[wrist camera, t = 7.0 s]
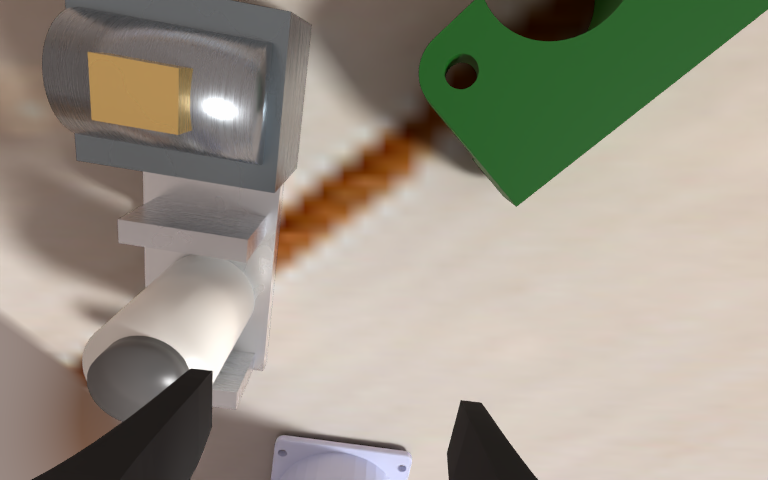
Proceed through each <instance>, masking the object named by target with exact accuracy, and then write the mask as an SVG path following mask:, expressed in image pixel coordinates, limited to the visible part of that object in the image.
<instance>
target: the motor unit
mask: <svg viewBox="0 0 768 480" xmlns="http://www.w3.org/2000/svg"><path fill="white" fill-rule="evenodd" d="M65 7H66V10H64V11H63V12H61V13H60V14H59V15H58V16H57V17H56V18H55V20H54V21H53V23H52V24H51V26H50V28H49V30H48V33H47V36H46V39H45V43H44V48H43V56H42V73H43V81H44V87H45V91H46V95H47V98H48V101H49V103H50V105H51V108H52V110H53V111H54V113H55V115H56V117H57V118H58V119H59V121H60V122H61V123H62V124H63V125H64V126H65V127H66V128H67V129H69V130H70V131H72V132H74V133H75V145H76V158H77V161H83V162H89V163H95V164H101V165H107V166H113V167H119V168H125V169H131V170H137V171H143V204H144V205H142V206H140V207H138V208H137V209H135V210H133V211H131V212H129V213H128V214H126V215H124V216H122V217H121V218H119V219H118V243H121V244H128V245H134V246H141V247H144V256H145V288H146V287H147V286H149V285H150V284H151V283H152V282H153V281H154V280H155V279H156V278H158V277H159V276H160V275H161V274H162V273H163V272H164V271H165V270H167V269H168V268H169V267H170V266H171V265H172V264H174V263H175V262H176V261H178V260H179V259H181V258H183V257H186V256H189V255H199V256H205V257H212V258H218V259H224V260H228V261H230V262H231V263H233V264H234V265H236V266H237V267H238V268H239V269H240V270H241V271H242V272H243V273H244V274H245V276H246V277H247V278H248V280H249V282H250V284H251V286H252V289H253V292H254V309H253V312H252V315H251V317H250V318H249V320H248V322H247V324H246V326H245V327H244V329H243V331H242V333H241V335H240V336H239V338H238V340H237V342H236V343H235V345H234V347H233V349H232V351H231V352H230V354H229V356H228V358H227V360H226V361H225V363H224V365H223V367H222V368H221V370H220V372H219V374H218V376H217V377H216V379H215V381H214V383H213V385H212V407H218V408H226V409H233V410H236V408H237V406H238V404H239V402H240V399H241V397H242V395H243V392H244V390H245V388H246V385H247V383H248V381H249V378H250V376H251V374H252V371H253V370H260V371H263V370H264V367H265V365H266V362H267V354H268V344H269V333H270V323H271V312H272V302H273V292H274V281H275V271H276V261H277V250H278V240H279V229H280V219H281V209H282V198H283V188H284V182H285V181H286V180H287V179H288V177H289V176H290V175H291V174H292V173H293V172H294V171H295V169H296V168H297V159H298V149H299V140H300V130H301V121H302V111H303V102H304V92H305V83H306V73H307V64H308V54H309V45H310V35H311V26H312V25H311V24H309V23H308V22H306V21H305V20H303V19H301V18H300V17H298V16H297V15H295V14H293V13H292V12H289V11H284V10H278V9H273V8H268V7H263V6H258V5H253V4H247V3H242V2H237V1H232V0H65Z"/></svg>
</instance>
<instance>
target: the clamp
mask: <svg viewBox="0 0 768 480" xmlns="http://www.w3.org/2000/svg"><path fill="white" fill-rule="evenodd" d="M766 10H768V0H595V4H594V13H593V17H592V20H591V23H590V26H589V28H588V30H587V32H586V33H584V34H582V35H579V36H577V37H574V38H570V39H566V40H560V41H538V40H532V39H529V38H525V37H523V36H520V35H518V34H516V33H514V32H512V31H511V30H509V29H508V28H506V27H505V26H504V25H503V24H502V23H501V22H499V21H498V20H497V18H496V17H495V16H494V15H493V14H492V12H491V11H490V9H489V8H488V6H487V4H486V2H485V0H474V1H473V2H472V3H471V4H470V5H469V6H468V7H467V8H466V9H465V10H464V11H462V12H461V13H460V14H459V15H458V16H457V17H456V18H455V19H454V20H453V21H452V22H451V23H450V24H449V25H448V26H447V27H446V28H444V29H443V30H442V31H441V32H440V33H439V34H438V35H437V36H436V37H435V38H434V39H433V40H432V41H431V42H430V43H429V45H428V46H427V48H426V49H425V51H424V53H423V55H422V58H421V61H420V66H419V81H420V86H421V89H422V91H423V93H424V96H425V98H426V99H427V101H428V103H429V104H430V106H431V107H432V108H433V109H434V110H435V112H436V113H437V114H438V115H439V116H440V118H441V119H442V120H443V121H444V122H445V124H446V125H447V126H448V127H449V128H450V130H451V131H452V132H453V133H454V134H455V136H456V137H457V138H458V139H459V140H460V142H461V143H462V144H463V145H464V146H465V148H466V149H467V150H468V151H469V152H470V154H471V155H472V156H473V157H474V158H473V160H474V162H475V163H476V164H477V165H478V166H479V168H480V169H481V170H482V171H483V172H484V174H485V175H486V176H487V177H488V178H489V180H490V181H491V182H492V183H493V184H494V186H495V187H496V188H497V189H498V190H499V192H500V193H501V194H502V195H503V196H504V197H505V198H506V199H507V200H509V201H510V202H511V203H512V204H514V205H515V206H516V207H517V206H518V205H519V204H520V203H522V202H523V201H524V200H526V199H527V198H528V197H529V196H531V195H532V194H533V193H534V192H536V191H537V190H538V189H540V188H541V187H542V186H543V185H545V184H546V183H547V182H548V181H550V180H551V179H552V178H554V177H555V176H556V175H557V174H559V173H560V172H561V171H562V170H564V169H565V168H566V167H568V166H569V165H570V164H571V163H573V162H574V161H575V160H576V159H578V158H579V157H580V156H582V155H583V154H584V153H585V152H587V151H588V150H589V149H591V148H592V147H593V146H594V145H596V144H597V143H598V142H599V141H601V140H602V139H603V138H605V137H606V136H607V135H608V134H610V133H611V132H612V131H613V130H615V129H616V128H617V127H619V126H620V125H621V124H622V123H624V122H625V121H626V120H627V119H629V118H630V117H631V116H633V115H634V114H635V113H636V112H638V111H639V110H640V109H641V108H643V107H644V106H645V105H647V104H648V103H649V102H650V101H652V100H653V99H654V98H655V97H657V96H658V95H659V94H661V93H662V92H663V91H664V90H666V89H667V88H668V87H669V86H671V85H672V84H673V83H675V82H676V81H677V80H678V79H680V78H681V77H682V76H683V75H685V74H686V73H687V72H689V71H690V70H691V69H692V68H694V67H695V66H696V65H698V64H699V63H700V62H701V61H703V60H704V59H705V58H706V57H708V56H709V55H710V54H712V53H713V52H714V51H715V50H717V49H718V48H719V47H720V46H722V45H723V44H724V43H726V42H727V41H728V40H729V39H731V38H732V37H733V36H734V35H736V34H737V33H738V32H740V31H741V30H742V29H743V28H745V27H746V26H747V25H748V24H750V23H751V22H752V21H754V20H755V19H756V18H757V17H759V16H760V15H761V14H762V13H764V12H765V11H766ZM457 63H467V64H469V65H471V66H472V67H473V68H474V69H475V71H476V74H477V80H476V81H475V83H474V84H473V85H471V86H470V87H468V88H466V89H455V88H453V87H451V86H450V85H449V84H448V83H447V81H446V79H445V77H446V74H447V72H448V70H449V69H450V68H451V67H452V66H453V65H455V64H457Z"/></svg>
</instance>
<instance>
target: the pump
mask: <svg viewBox="0 0 768 480" xmlns="http://www.w3.org/2000/svg"><path fill="white" fill-rule="evenodd" d="M253 309H254V292H253V289H252V286H251V284H250V282H249V280H248V278H247V277H246V276H245V274H244V273H243V272H242V271H241V270H240V269H239V268H238V267H237V266H236V265H234V264H233V263H231V262H230V261H228V260H224V259H218V258H212V257H205V256H199V255H189V256H186V257H183V258H181V259H179V260H178V261H176V262H175V263H174V264H172V265H171V266H170V267H169V268H168V269H167V270H165V271H164V272H163V273H162V274H161V275H160V276H159V277H158V278H156V279H155V280H154V281H153V282H152V283H151V284H150V285H149V286H147V287H146V288H145V289H144V290H143V291H142V292H141V293H139V294H138V295H137V296H136V297H135V298H134V299H133V300H132V301H130V302H129V303H128V304H127V305H126V306H125V307H124V308H123V309H121V310H120V311H119V312H118V313H117V314H116V315H115V316H113V317H112V318H111V319H110V320H109V321H108V322H107V323H106V324H104V325H103V326H102V327H101V328H100V329H99V330H98V331H97V332H95V333H94V334H93V336H92V337H91V338H90V339H89V341H88V342H87V344H86V346H85V349H84V352H83V360H82V365H83V371H84V375H85V378H86V380H87V386H88V389H89V392H90V394H91V396H92V398H93V400H94V401H95V402H96V404H97V405H98V406H99V407H100V408H101V409H102V410H103V411H105V412H106V413H107V414H109V415H110V416H112V417H114V418H116V419H118V420H120V421H122V422H123V421H125V420H126V419H127V418H129V417H130V416H131V415H133V414H134V413H135V412H137V411H138V410H139V409H140V408H142V407H143V406H144V405H146V404H147V403H148V402H149V401H151V400H152V399H153V398H154V397H156V396H157V395H158V394H159V393H161V392H162V391H163V390H164V389H166V388H167V387H168V386H169V385H170V384H172V383H173V382H174V381H175V380H177V379H178V378H179V377H180V376H181V375H183V374H184V373H185V372H186V371H188V370H189V369H191V368H193V369H202V370H210V371H213V379H212V385H213V383H214V381H215V379H216V377H217V376H218V374H219V372H220V370H221V368H222V367H223V365H224V363H225V361H226V360H227V358H228V356H229V354H230V352H231V351H232V349H233V347H234V345H235V343H236V342H237V340H238V338H239V336H240V335H241V333H242V331H243V329H244V327H245V326H246V324H247V322H248V320H249V318H250V317H251V315H252V312H253Z"/></svg>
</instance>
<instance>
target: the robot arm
mask: <svg viewBox="0 0 768 480" xmlns="http://www.w3.org/2000/svg"><path fill="white" fill-rule="evenodd" d="M212 379H213V371H210V370H202V369H193V368H191V369H189V370H188V371H186V372H185V373H184V374H183V375H181V376H180V377H179V378H178V379H177V380H175V381H174V382H173V383H172V384H170V385H169V386H168V387H167V388H166V389H164V390H163V391H162V392H161V393H159V394H158V395H157V396H156V397H154V398H153V399H152V400H151V401H149V402H148V403H147V404H146V405H144V406H143V407H142V408H140V409H139V410H138V411H137V412H135V413H134V414H133V415H131V416H130V417H129V418H127V419H126V420H125V421H123V422H122V423H121V424H119V425H118V426H116V427H115V428H114V429H112V430H111V431H110V432H108V433H107V434H105V435H104V436H102V437H101V438H99V439H98V440H97V441H95V442H94V443H92V444H91V445H89V446H88V447H86V448H85V449H83V450H82V451H80V452H78V453H77V454H75V455H74V456H72V457H70V458H69V459H67V460H66V461H64V462H62V463H61V464H59V465H57V466H56V467H54V468H52V469H50V470H49V471H47V472H45V473H43V474H41V475H39V476H38V477H36V478H34V479H32V480H190V478H191V476H192V474H193V472H194V470H195V468H196V466H197V464H198V462H199V460H200V457H201V455H202V452H203V450H204V447H205V444H206V442H207V439H208V436H209V433H210V431H211V428H212ZM281 450H285V451H281ZM447 460H448V474H449V480H538V479H537V478H536V477H535V476H534V474H533V473H532V472H531V471H530V469H529V468H528V467H527V465H526V464H525V463H524V461H523V460H522V459H521V458H520V456H519V455H518V454H517V452H516V451H515V450H514V448H513V447H512V445H511V444H510V443H509V441H508V440H507V439H506V437H505V436H504V434H503V433H502V432H501V430H500V429H499V427H498V426H497V424H496V423H495V421H494V420H493V419H492V417H491V416H490V414H489V413H488V411H487V410H486V409H485V407H484V406H483V404H482V403H479V402H471V401H462V400H461V402H460V406H459V410H458V413H457V417H456V421H455V425H454V429H453V432H452V436H451V440H450V444H449V448H448V451H447ZM411 464H412V456H411V454H410V453H409V452H407V451H402V450H394V449H386V448H379V447H371V446H363V445H356V444H348V443H341V442H333V441H325V440H318V439H310V438H302V437H295V436H287V435H282V436H279V437H278V438H277V439H276V442H275V447H274V456H273V465H272V473H271V480H407V479H408V475H409V472H410V468H411ZM400 465H404V466H400Z"/></svg>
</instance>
